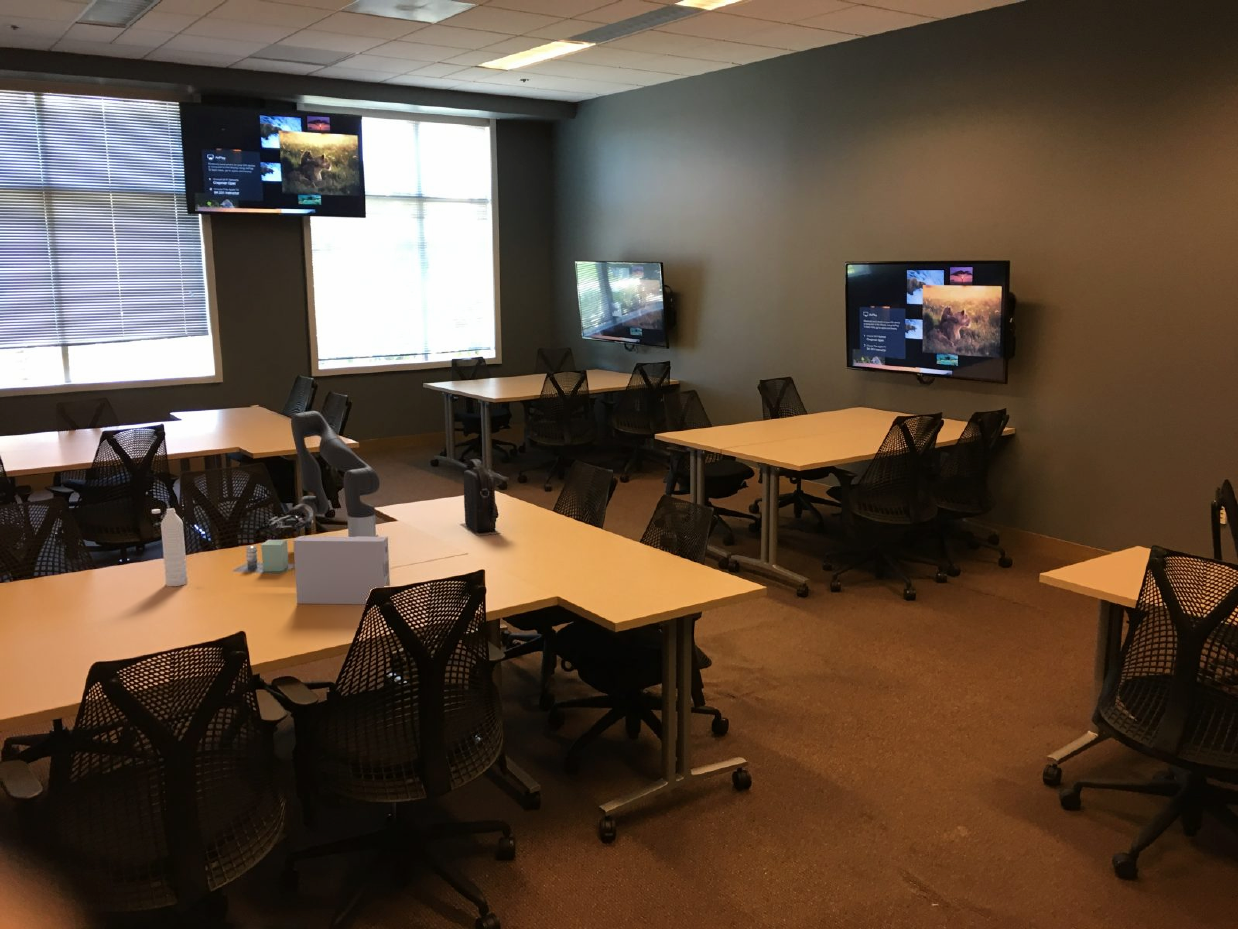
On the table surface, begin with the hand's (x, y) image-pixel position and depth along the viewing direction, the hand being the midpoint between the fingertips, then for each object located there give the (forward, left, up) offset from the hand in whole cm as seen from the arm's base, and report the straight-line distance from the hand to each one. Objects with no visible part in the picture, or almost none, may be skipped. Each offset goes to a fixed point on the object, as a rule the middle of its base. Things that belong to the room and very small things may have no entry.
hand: (284, 527), depth 341 cm
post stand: (+2, +11, -13) cm, 17 cm away
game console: (-38, +35, -13) cm, 53 cm away
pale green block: (-2, +11, -11) cm, 16 cm away
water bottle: (+24, +29, -13) cm, 40 cm away
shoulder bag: (-50, -59, -13) cm, 78 cm away
